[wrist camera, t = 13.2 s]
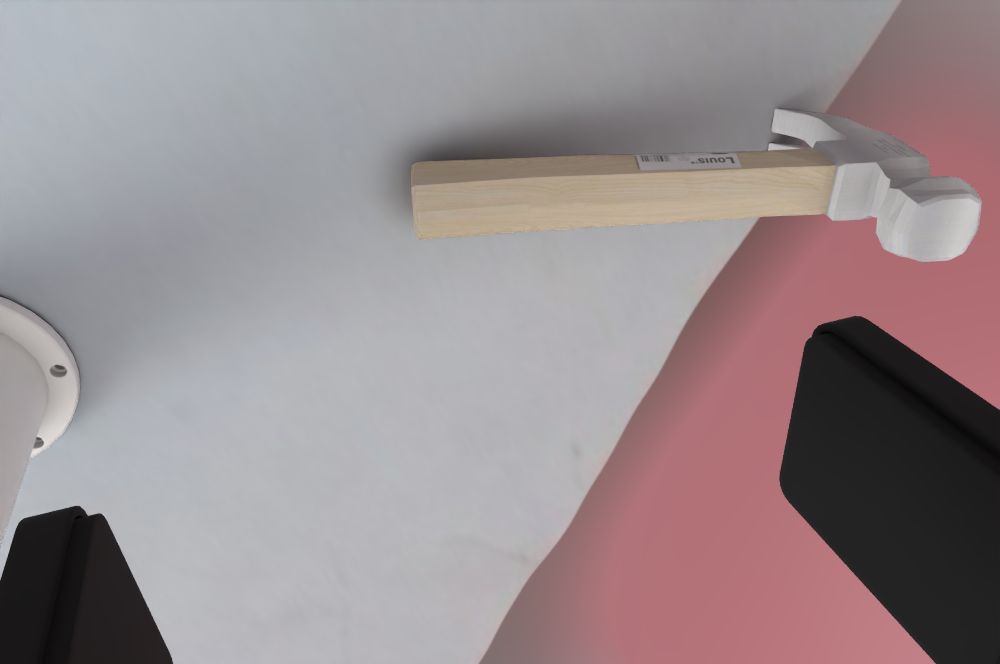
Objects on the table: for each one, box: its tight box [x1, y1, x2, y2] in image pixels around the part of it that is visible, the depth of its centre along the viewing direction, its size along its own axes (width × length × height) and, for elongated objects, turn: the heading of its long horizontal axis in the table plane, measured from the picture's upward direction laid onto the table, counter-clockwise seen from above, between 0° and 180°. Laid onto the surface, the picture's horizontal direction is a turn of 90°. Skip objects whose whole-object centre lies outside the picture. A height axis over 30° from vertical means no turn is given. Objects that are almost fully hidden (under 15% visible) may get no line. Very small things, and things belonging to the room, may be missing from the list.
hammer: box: [411, 109, 982, 262], centre depth 45 cm, size 16×5×30 cm
